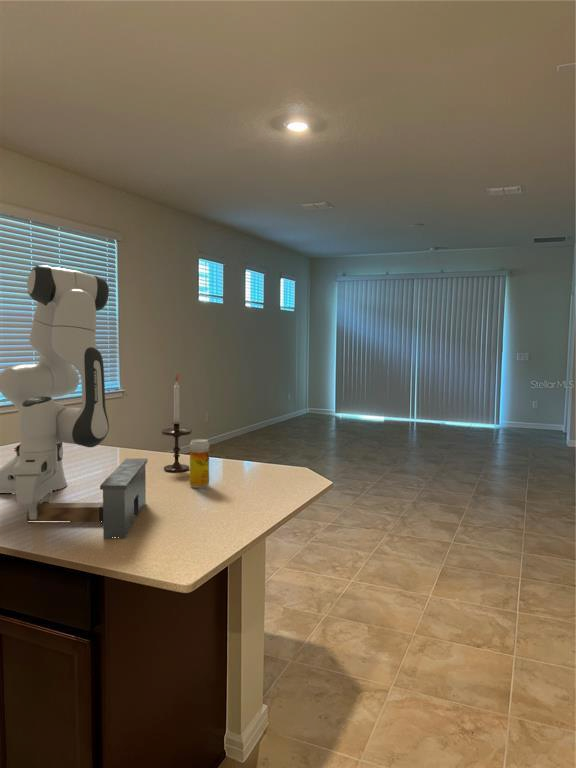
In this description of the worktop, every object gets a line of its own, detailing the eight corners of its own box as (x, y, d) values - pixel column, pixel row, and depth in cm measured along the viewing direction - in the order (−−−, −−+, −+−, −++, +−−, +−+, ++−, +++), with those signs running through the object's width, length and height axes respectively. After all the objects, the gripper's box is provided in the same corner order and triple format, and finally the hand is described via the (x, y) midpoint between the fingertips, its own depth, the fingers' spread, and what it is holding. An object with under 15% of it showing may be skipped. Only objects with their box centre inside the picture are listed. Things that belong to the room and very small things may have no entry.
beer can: (205, 489, 174) (205, 442, 172) (187, 488, 175) (187, 441, 174) (211, 484, 180) (211, 439, 178) (194, 483, 181) (194, 438, 180)
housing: (100, 539, 129) (100, 485, 128) (126, 502, 158) (126, 458, 157) (126, 539, 130) (126, 485, 129) (147, 502, 159) (147, 458, 158)
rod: (27, 523, 140) (26, 507, 140) (32, 518, 144) (32, 503, 144) (107, 522, 142) (107, 507, 141) (110, 517, 146) (110, 502, 145)
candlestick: (196, 470, 198) (196, 374, 195) (168, 474, 192) (168, 374, 189) (184, 464, 207) (184, 372, 204) (156, 468, 201) (156, 372, 198)
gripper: (40, 452, 151) (41, 501, 152) (10, 469, 131) (11, 526, 132) (63, 452, 152) (65, 501, 153) (37, 469, 131) (39, 525, 132)
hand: (40, 513), depth 142 cm, fingers open, 8 cm apart
